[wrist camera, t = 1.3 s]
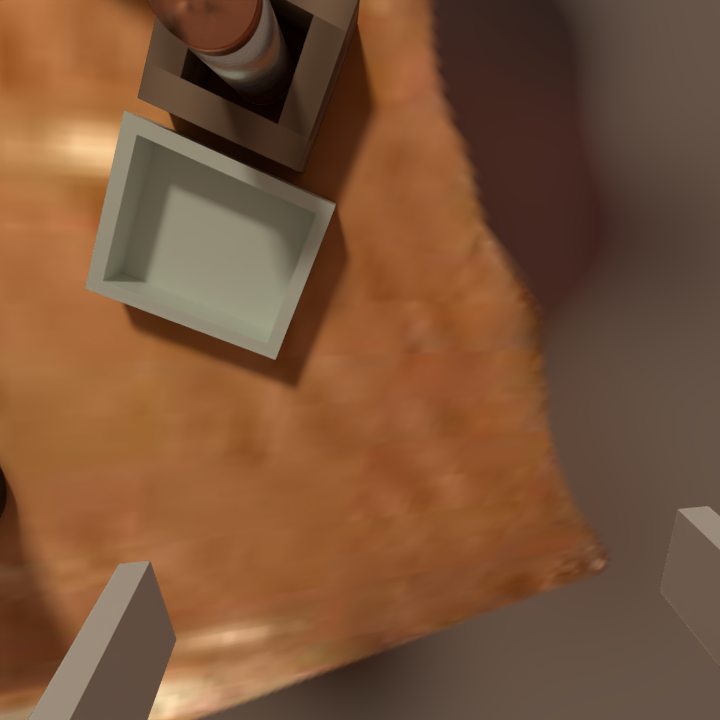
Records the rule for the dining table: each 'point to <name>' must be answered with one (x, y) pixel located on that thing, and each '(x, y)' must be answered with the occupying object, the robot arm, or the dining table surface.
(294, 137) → the block
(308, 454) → the dining table surface
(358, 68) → the dining table surface
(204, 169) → the tray
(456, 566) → the dining table surface
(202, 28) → the pin
